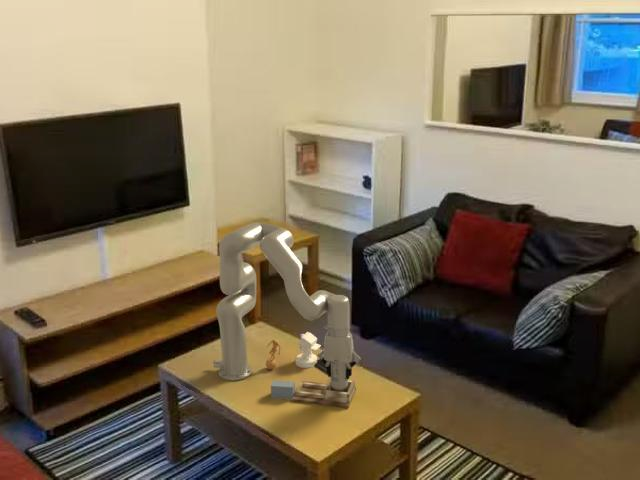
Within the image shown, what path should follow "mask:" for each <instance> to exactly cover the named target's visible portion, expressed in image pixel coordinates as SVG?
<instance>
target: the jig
mask: <svg viewBox="0 0 640 480" xmlns="http://www.w3.org/2000/svg"><path fill="white" fill-rule="evenodd" d="M356 390H357V387H356V381H355V380H349V379H348V386H347V387H346V389H344V390H341V391H338V390H334V389H333V387H332V386H331V377H328V381H327V383H323V382H314V381H306V380H305V381H304V380H301V382H300V384H299V385H298V386H297V389H296V390H295V395H294V397H293V398H292V399H291V401H292V402H293V403H294V402H295V403H303V404H309V405H310V404H311V405H317V406H318V405H319V406H328V407H336V408H343V409H345V408H346V409H349V408H350V406H351V403H352V400H353V398H354V396H355V393H356Z"/></svg>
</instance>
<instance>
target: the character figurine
mask: <svg viewBox="0 0 640 480" xmlns="http://www.w3.org/2000/svg"><path fill="white" fill-rule="evenodd" d="M299 335H300V336H299V337H300V340H299V342H298V350H299V352H302V353H300V354H298V355H297V356H295V365H296V366H297V367H299V368H301V369H302V368H303V369H308V368H313V367H316V366H315V364H316V363H317V360H318V355H316V354H314V353H313V351H314V352H316V351H318V350H319V349H320V348H321V346H322V345H321V344H319V343H317V342H318V338H317V337H316V336H315V335H314V334H313V333H311V332H309V331H306V333H301V334H299Z"/></svg>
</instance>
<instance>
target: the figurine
mask: <svg viewBox="0 0 640 480" xmlns="http://www.w3.org/2000/svg"><path fill="white" fill-rule="evenodd" d="M271 344H272V347H271V349H270V351H269V354H270V355H271V357H270V358H269V359H267V361H266V362H265V366H266V368H267V369H268V370H274V369H275V368H276V366H277V362H276V360H275V357H276V352H277V351H278V353H277V355H278V356H281V349H282V347H281V345H280V340H279V339H273V340H271V341H270V342H269V343H268V344H267V347H266V348H267V349H268V347H269V346H270V345H271ZM278 347H279V349H278V350H277V348H278Z"/></svg>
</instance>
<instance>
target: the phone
mask: <svg viewBox="0 0 640 480" xmlns="http://www.w3.org/2000/svg"><path fill="white" fill-rule="evenodd" d="M314 367H316V368H317V369H319V370H321V371H323V372H325V373H326V374H327V375H328V373H327V367H326V366H325V364H324V363H323V362H322V360H321V359H320V358H319V359H317V363H316V364H315V366H314Z"/></svg>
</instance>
